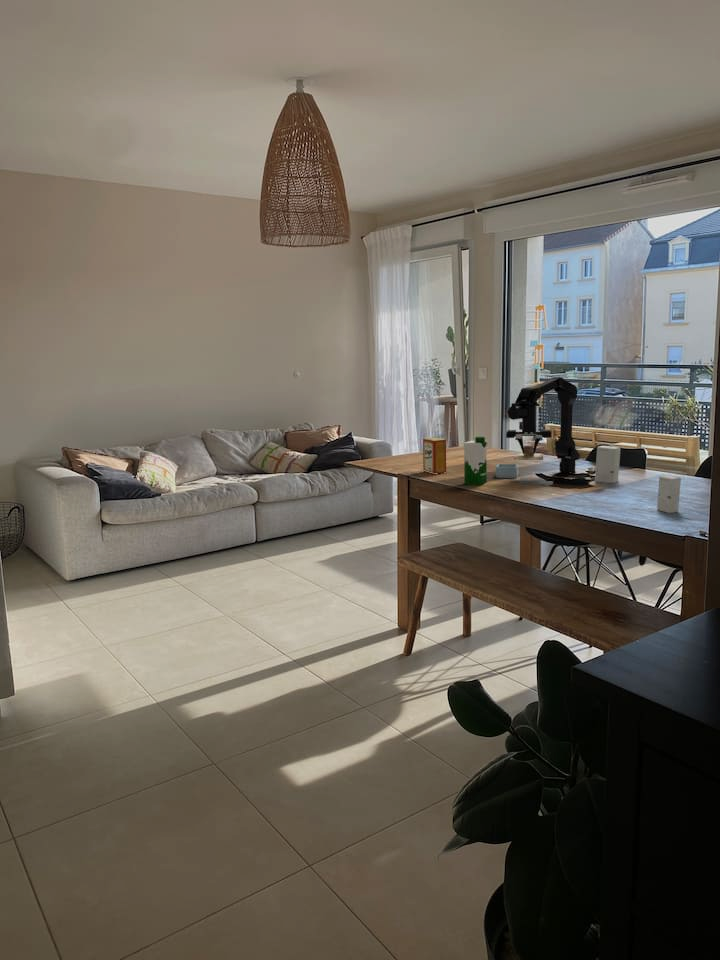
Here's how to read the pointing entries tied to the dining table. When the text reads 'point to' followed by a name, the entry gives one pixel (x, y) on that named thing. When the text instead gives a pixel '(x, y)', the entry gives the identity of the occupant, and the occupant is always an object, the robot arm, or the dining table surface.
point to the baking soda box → (434, 455)
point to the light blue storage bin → (507, 471)
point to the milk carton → (475, 461)
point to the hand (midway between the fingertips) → (528, 453)
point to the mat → (534, 481)
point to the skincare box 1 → (607, 464)
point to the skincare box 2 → (668, 493)
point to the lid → (528, 454)
